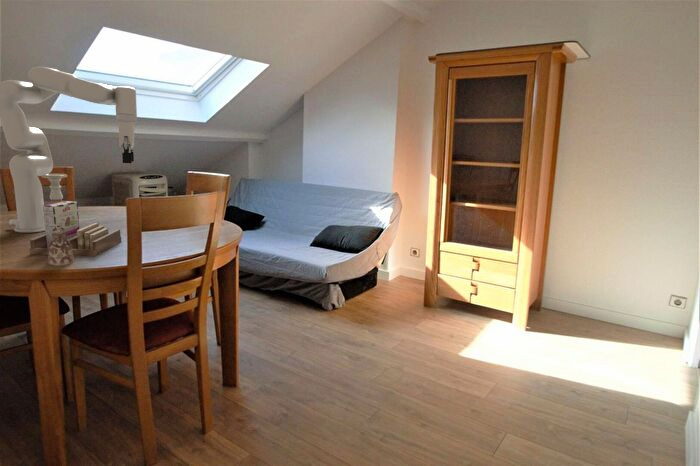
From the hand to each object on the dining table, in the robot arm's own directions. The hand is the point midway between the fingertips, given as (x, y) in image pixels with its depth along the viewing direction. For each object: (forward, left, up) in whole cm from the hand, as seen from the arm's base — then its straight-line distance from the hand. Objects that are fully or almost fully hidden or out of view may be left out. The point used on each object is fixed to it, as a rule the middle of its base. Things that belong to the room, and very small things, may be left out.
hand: (128, 162), depth 189 cm
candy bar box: (-16, -23, -31) cm, 41 cm away
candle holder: (-48, +36, -31) cm, 68 cm away
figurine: (-7, -43, -31) cm, 53 cm away
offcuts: (-5, -23, -30) cm, 38 cm away
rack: (-11, -23, -30) cm, 39 cm away
